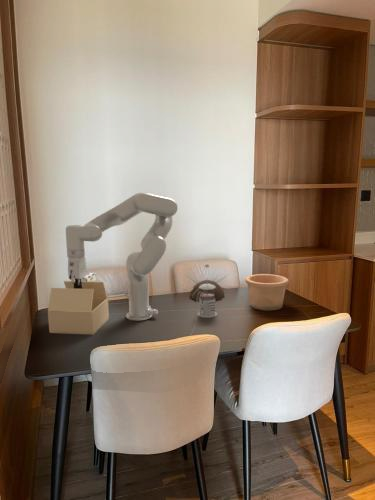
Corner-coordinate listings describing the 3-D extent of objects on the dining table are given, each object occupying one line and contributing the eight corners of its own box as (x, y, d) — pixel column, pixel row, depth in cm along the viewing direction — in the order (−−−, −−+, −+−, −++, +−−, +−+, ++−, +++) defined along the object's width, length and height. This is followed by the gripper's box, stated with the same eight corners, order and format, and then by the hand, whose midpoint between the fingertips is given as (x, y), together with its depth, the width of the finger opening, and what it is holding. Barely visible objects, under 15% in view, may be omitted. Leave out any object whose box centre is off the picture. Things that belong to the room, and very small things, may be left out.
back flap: (107, 298, 181) (107, 297, 181) (103, 282, 175) (103, 281, 176) (68, 297, 183) (69, 296, 184) (63, 281, 178) (64, 280, 178)
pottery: (281, 314, 184) (281, 286, 182) (238, 308, 195) (238, 281, 192) (292, 302, 203) (293, 276, 200) (253, 297, 213) (253, 272, 211)
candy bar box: (89, 301, 210) (87, 272, 208) (98, 301, 209) (96, 272, 207) (80, 307, 200) (78, 277, 197) (88, 308, 199) (86, 277, 196)
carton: (109, 318, 183) (107, 298, 181) (93, 334, 163) (92, 312, 161) (69, 317, 185) (68, 297, 184) (49, 332, 166) (47, 310, 164)
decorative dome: (230, 295, 219) (230, 278, 217) (213, 304, 202) (213, 286, 201) (201, 290, 229) (201, 274, 227) (183, 299, 213) (183, 281, 211)
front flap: (93, 289, 164) (93, 288, 163) (91, 311, 161) (90, 311, 161) (51, 288, 166) (51, 287, 166) (48, 310, 164) (48, 310, 163)
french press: (221, 313, 187) (221, 263, 183) (206, 319, 179) (205, 268, 174) (206, 309, 194) (205, 261, 189) (190, 315, 185) (190, 265, 181)
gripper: (76, 256, 161) (79, 298, 164) (90, 250, 175) (92, 288, 178) (60, 256, 162) (62, 297, 165) (74, 250, 176) (77, 288, 179)
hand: (78, 293), depth 171 cm, fingers closed
